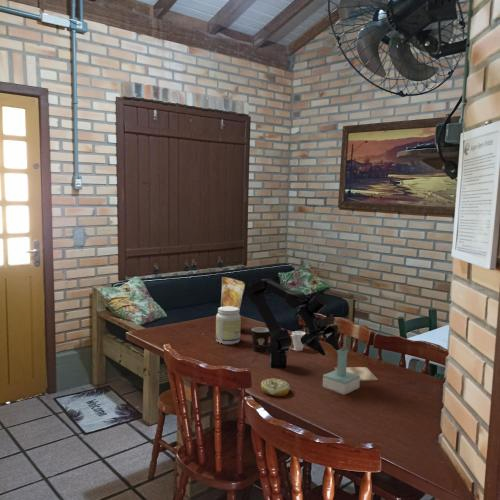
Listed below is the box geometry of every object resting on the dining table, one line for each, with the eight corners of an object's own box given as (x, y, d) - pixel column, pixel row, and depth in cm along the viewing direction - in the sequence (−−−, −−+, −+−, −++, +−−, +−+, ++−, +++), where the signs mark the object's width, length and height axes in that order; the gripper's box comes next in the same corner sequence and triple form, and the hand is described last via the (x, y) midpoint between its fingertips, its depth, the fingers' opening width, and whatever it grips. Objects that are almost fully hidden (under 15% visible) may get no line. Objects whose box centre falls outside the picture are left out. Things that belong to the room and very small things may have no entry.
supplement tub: (244, 340, 243) (245, 308, 241) (230, 346, 233) (231, 312, 231) (224, 336, 250) (225, 304, 248) (210, 342, 239) (211, 308, 238)
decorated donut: (272, 400, 173) (272, 389, 172) (255, 389, 182) (255, 380, 181) (294, 393, 179) (295, 384, 178) (277, 384, 188) (277, 374, 187)
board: (343, 380, 192) (343, 379, 192) (334, 368, 206) (334, 367, 206) (377, 380, 194) (377, 379, 194) (366, 368, 208) (366, 367, 207)
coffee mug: (248, 351, 226) (248, 330, 225) (254, 346, 234) (255, 326, 233) (271, 355, 222) (272, 334, 221) (277, 350, 230) (278, 329, 229)
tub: (322, 387, 185) (322, 377, 185) (337, 380, 193) (338, 371, 192) (344, 395, 178) (345, 384, 178) (359, 388, 186) (359, 378, 185)
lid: (322, 379, 185) (324, 349, 184) (337, 373, 192) (339, 344, 191) (344, 387, 178) (346, 356, 177) (359, 380, 185) (361, 350, 184)
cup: (308, 350, 230) (309, 334, 229) (289, 352, 226) (290, 336, 225) (301, 346, 236) (301, 330, 236) (283, 348, 232) (283, 332, 232)
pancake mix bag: (225, 324, 273) (226, 275, 270) (244, 332, 257) (246, 281, 254) (215, 326, 269) (216, 276, 266) (234, 334, 254) (235, 282, 251)
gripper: (307, 311, 183) (330, 346, 176) (336, 304, 196) (358, 337, 190) (291, 327, 189) (312, 362, 183) (319, 320, 203) (340, 351, 196)
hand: (331, 352), depth 188 cm, fingers open, 9 cm apart
